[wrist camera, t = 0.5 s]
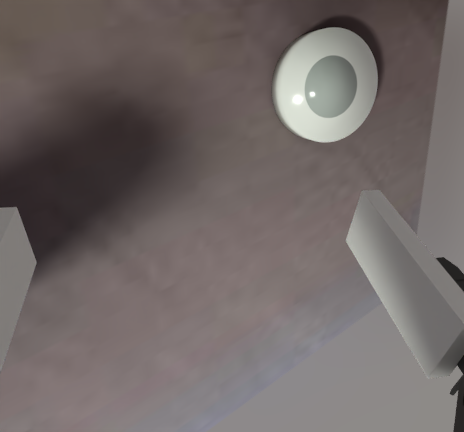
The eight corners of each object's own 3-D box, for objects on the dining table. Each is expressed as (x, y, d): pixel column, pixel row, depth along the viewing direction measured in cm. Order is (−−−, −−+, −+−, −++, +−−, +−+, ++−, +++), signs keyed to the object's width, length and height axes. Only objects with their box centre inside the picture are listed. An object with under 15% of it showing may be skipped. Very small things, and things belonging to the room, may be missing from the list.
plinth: (271, 30, 37) (282, 26, 35) (367, 31, 40) (383, 27, 38) (271, 142, 41) (280, 146, 39) (358, 135, 44) (372, 138, 42)
